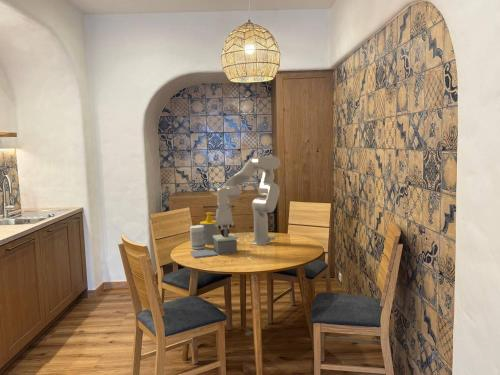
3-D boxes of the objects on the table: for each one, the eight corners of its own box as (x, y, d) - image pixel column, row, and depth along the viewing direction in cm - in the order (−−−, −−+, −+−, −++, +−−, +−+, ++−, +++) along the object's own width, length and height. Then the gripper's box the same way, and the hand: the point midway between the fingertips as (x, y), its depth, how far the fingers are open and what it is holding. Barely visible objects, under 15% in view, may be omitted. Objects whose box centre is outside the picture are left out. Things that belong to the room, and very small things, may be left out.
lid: (232, 236, 277) (231, 225, 276) (237, 240, 265) (237, 229, 264) (212, 238, 273) (212, 227, 272) (217, 243, 261) (217, 231, 260)
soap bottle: (220, 244, 291) (218, 213, 289) (201, 245, 289) (199, 214, 287) (218, 239, 304) (217, 210, 302) (200, 241, 302) (199, 211, 300)
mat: (212, 250, 274) (212, 249, 274) (217, 255, 260) (217, 254, 260) (190, 252, 269) (190, 251, 269) (194, 258, 256) (194, 256, 256)
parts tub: (231, 248, 277) (231, 236, 276) (236, 252, 265) (236, 240, 265) (213, 250, 273) (213, 238, 272) (218, 255, 262) (217, 242, 261)
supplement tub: (207, 248, 280) (206, 226, 279) (194, 250, 275) (193, 228, 274) (201, 245, 288) (200, 224, 287) (188, 247, 283) (187, 226, 282)
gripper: (234, 205, 272) (235, 233, 274) (209, 207, 267) (211, 235, 269) (237, 206, 265) (238, 235, 267) (212, 208, 260) (214, 238, 262)
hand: (225, 235), depth 268 cm, fingers closed on lid
